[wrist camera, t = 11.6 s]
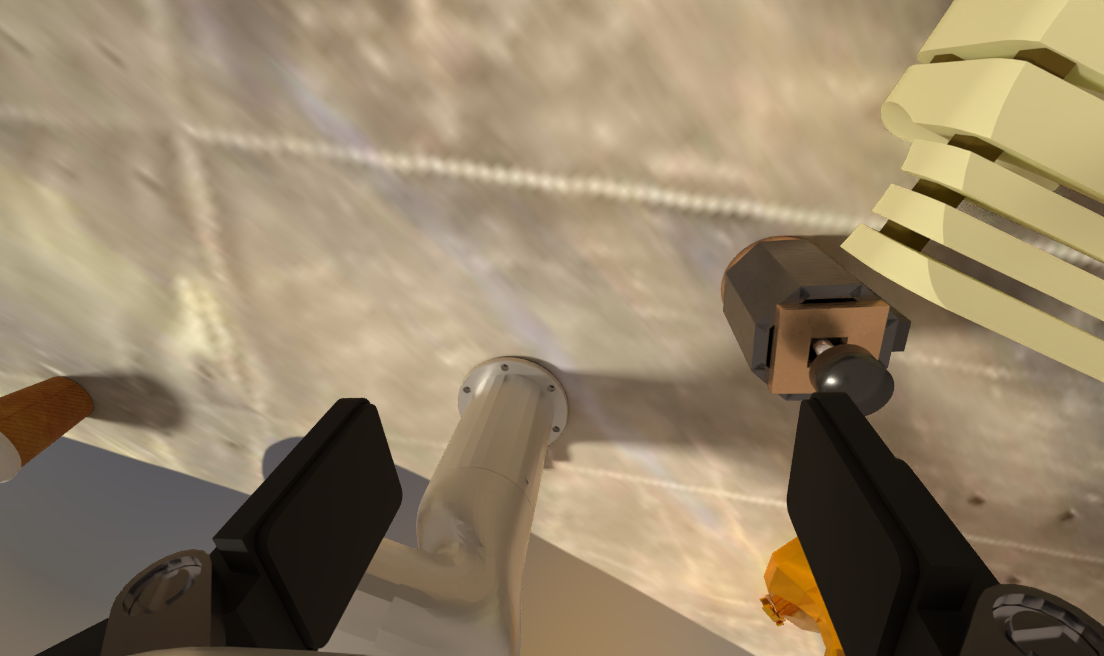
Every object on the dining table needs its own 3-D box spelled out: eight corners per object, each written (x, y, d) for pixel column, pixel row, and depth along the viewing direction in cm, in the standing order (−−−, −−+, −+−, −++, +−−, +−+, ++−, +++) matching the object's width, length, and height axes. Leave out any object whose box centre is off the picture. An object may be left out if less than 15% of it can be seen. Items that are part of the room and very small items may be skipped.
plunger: (815, 327, 44) (904, 433, 30) (742, 329, 45) (796, 433, 31) (825, 259, 41) (927, 343, 28) (747, 264, 42) (808, 346, 29)
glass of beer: (71, 431, 67) (-33, 496, 56) (19, 375, 63) (-103, 433, 52) (120, 417, 64) (20, 482, 54) (69, 358, 61) (-49, 415, 50)
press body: (836, 329, 46) (907, 407, 35) (718, 332, 48) (750, 409, 37) (852, 231, 42) (940, 284, 31) (723, 239, 44) (760, 292, 32)
